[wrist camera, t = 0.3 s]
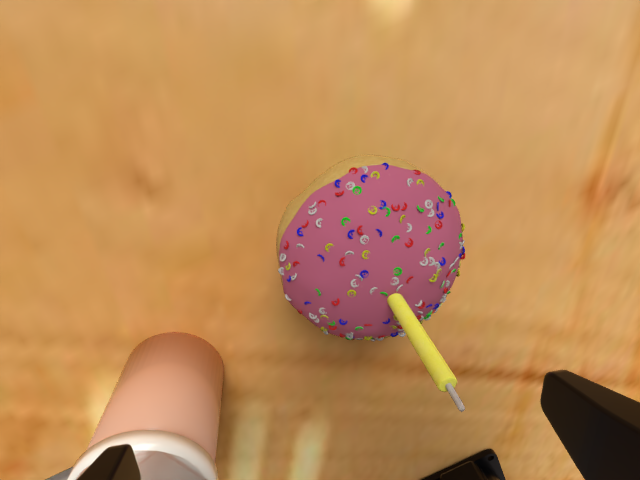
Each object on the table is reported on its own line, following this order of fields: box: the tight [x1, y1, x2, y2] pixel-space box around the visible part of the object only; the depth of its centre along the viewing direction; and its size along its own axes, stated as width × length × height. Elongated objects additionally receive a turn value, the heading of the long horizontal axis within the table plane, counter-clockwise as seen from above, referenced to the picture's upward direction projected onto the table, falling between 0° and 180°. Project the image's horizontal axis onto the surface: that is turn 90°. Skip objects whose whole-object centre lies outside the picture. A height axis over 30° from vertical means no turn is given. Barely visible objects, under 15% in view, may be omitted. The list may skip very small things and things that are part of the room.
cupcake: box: [276, 155, 465, 412], centre depth 16 cm, size 9×8×12 cm
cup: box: [67, 332, 224, 480], centre depth 20 cm, size 6×6×8 cm
